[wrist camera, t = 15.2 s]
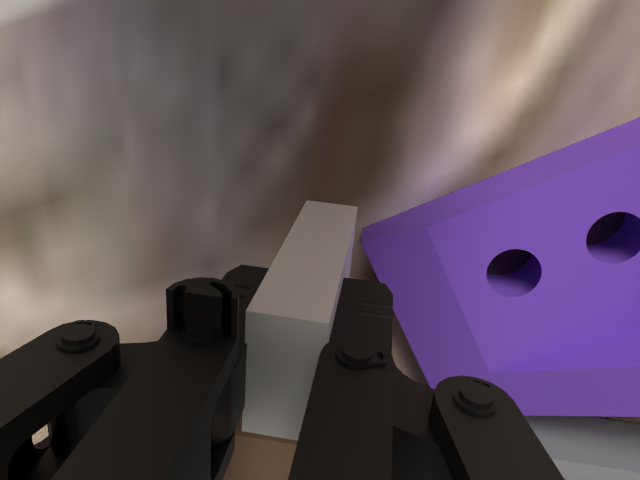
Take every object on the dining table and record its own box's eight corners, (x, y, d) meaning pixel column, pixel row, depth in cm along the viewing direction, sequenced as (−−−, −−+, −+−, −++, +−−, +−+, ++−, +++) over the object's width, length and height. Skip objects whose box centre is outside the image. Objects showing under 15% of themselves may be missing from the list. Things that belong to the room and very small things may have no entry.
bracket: (772, 60, 14) (1075, 87, 8) (815, 274, 16) (1085, 434, 10) (363, 224, 17) (345, 336, 11) (439, 386, 19) (461, 559, 13)
